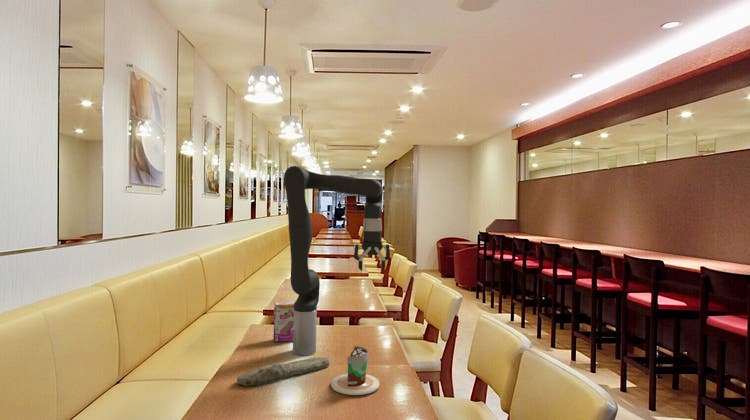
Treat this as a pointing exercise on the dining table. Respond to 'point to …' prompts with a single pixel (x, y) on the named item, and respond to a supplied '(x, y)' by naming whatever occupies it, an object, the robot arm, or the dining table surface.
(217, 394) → the dining table surface
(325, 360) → the elongated rock
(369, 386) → the dish
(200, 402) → the dining table surface
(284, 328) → the candy bar box
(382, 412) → the dining table surface
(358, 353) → the food container
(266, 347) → the dining table surface
